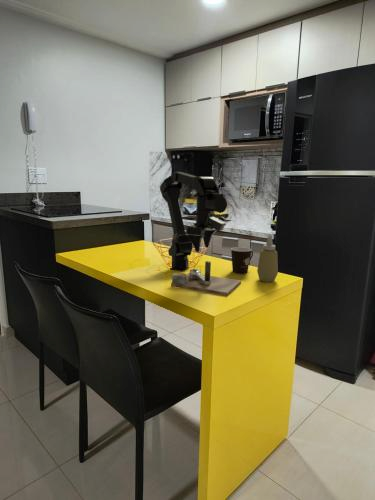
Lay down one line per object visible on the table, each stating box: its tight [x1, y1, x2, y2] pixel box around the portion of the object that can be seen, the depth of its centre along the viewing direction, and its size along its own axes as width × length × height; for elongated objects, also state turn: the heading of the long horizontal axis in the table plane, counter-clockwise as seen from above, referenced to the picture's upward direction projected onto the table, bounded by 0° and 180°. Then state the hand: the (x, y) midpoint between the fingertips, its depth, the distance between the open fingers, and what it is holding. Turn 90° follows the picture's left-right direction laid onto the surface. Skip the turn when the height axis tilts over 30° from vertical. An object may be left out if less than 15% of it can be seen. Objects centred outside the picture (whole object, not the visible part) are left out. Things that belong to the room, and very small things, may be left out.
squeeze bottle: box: [256, 235, 279, 283], centre depth 133 cm, size 8×8×18 cm
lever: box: [189, 260, 212, 285], centre depth 129 cm, size 15×5×8 cm, turn 20°
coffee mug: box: [230, 246, 254, 275], centre depth 146 cm, size 12×9×10 cm
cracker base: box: [170, 272, 242, 297], centre depth 127 cm, size 22×16×4 cm
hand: (202, 249), depth 133 cm, fingers open, 9 cm apart
